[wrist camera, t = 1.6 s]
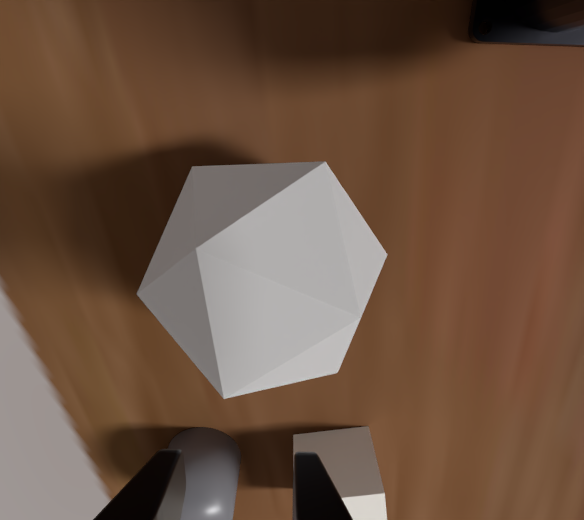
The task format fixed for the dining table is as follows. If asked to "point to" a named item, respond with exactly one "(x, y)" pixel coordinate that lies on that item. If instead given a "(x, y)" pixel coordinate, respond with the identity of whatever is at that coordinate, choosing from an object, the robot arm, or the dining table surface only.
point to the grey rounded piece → (208, 473)
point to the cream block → (349, 468)
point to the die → (263, 273)
